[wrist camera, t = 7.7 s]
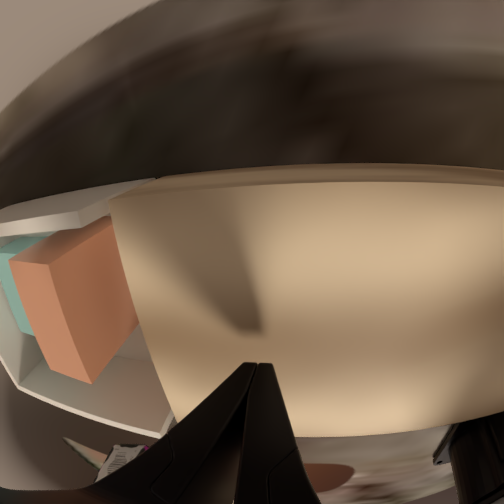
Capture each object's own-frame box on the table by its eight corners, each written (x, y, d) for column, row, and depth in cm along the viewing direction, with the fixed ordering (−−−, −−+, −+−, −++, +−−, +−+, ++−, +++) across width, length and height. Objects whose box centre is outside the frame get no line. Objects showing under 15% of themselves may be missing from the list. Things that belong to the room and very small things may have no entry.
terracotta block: (92, 384, 10) (50, 369, 10) (145, 315, 14) (106, 309, 15) (48, 264, 8) (7, 259, 8) (127, 215, 12) (85, 216, 13)
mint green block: (20, 331, 14) (43, 311, 16) (77, 347, 13) (100, 322, 15) (-9, 252, 12) (20, 236, 14) (44, 255, 11) (76, 235, 13)
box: (196, 367, 16) (162, 439, 11) (59, 344, 18) (17, 389, 13) (155, 177, 12) (77, 210, 8) (11, 205, 14) (-51, 234, 10)
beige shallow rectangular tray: (488, 357, 13) (514, 407, 9) (203, 367, 16) (178, 424, 12) (530, 173, 9) (588, 196, 5) (164, 176, 12) (107, 199, 8)
